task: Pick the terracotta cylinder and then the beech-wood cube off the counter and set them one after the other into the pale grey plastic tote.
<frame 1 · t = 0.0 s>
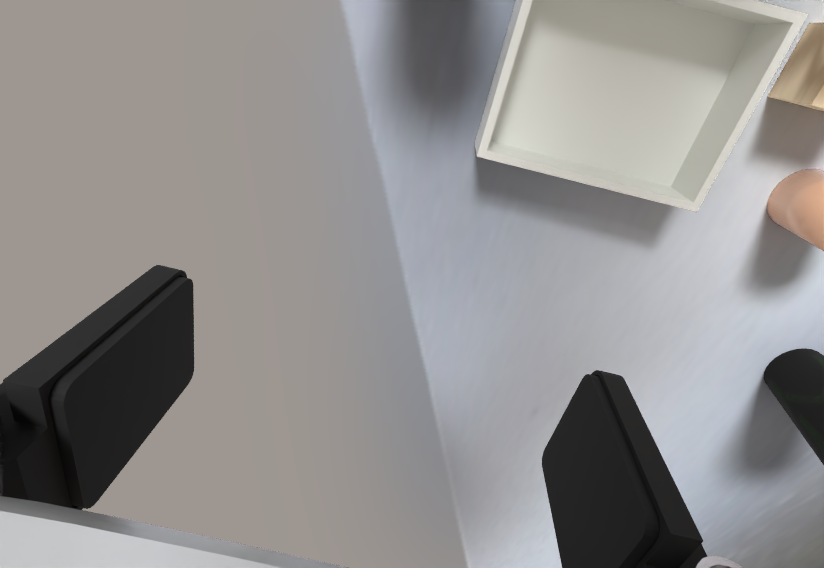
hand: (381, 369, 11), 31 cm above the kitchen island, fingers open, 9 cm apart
cup: (793, 369, 46), on the kitchen island
tote: (606, 85, 35), on the kitchen island
cylinder: (800, 198, 38), on the kitchen island
cube: (818, 69, 34), on the kitchen island
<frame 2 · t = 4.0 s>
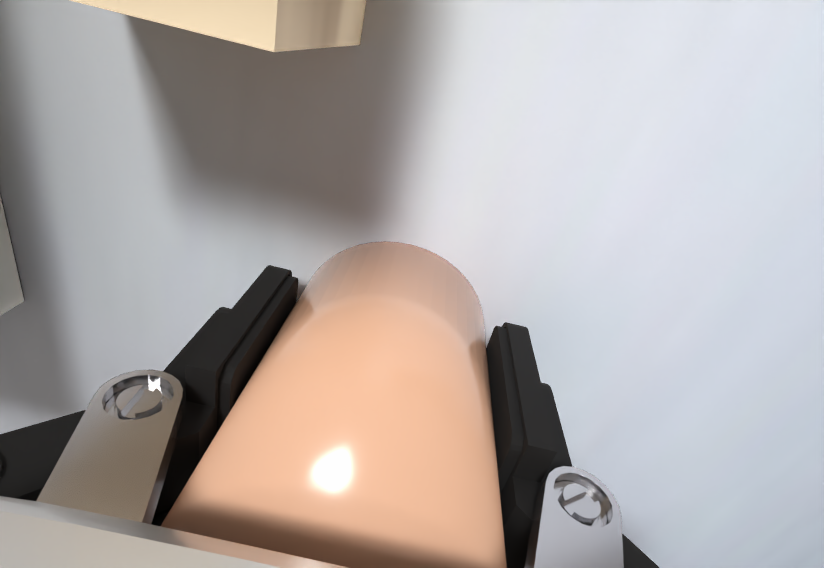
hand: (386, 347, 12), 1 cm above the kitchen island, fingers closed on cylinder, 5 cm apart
cylinder: (391, 326, 12), on the kitchen island, touching gripper
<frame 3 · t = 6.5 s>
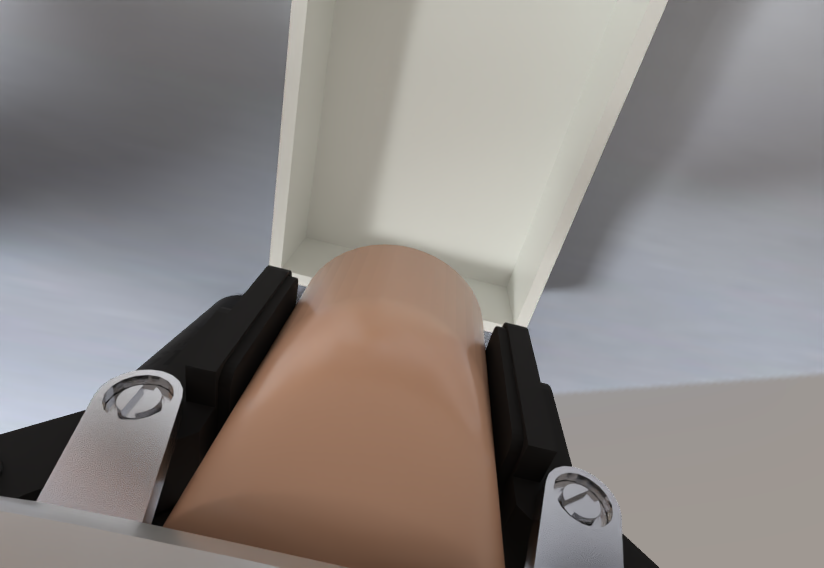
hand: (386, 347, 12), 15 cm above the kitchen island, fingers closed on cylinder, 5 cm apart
tote: (442, 119, 23), on the kitchen island
cylinder: (390, 328, 12), point 14 cm above the kitchen island, touching gripper
drinking cup: (246, 324, 31), on the kitchen island
when the fingers open (4 cm above the kitchen island, at t = 9.0 s): cylinder drops 2 cm, resting on tote.
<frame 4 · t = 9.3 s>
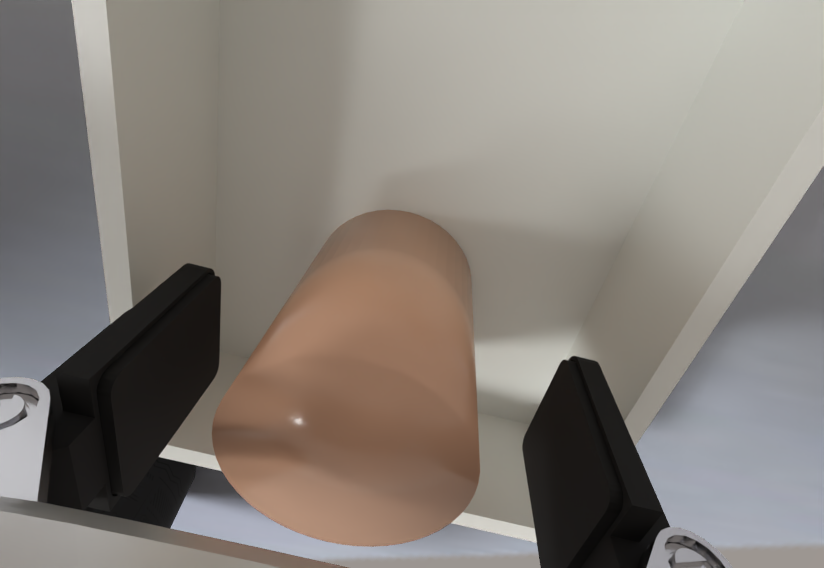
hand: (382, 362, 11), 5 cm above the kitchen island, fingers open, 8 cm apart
tote: (428, 171, 14), on the kitchen island
cylinder: (393, 284, 15), point 1 cm above the kitchen island, touching tote
drinking cup: (147, 454, 21), on the kitchen island
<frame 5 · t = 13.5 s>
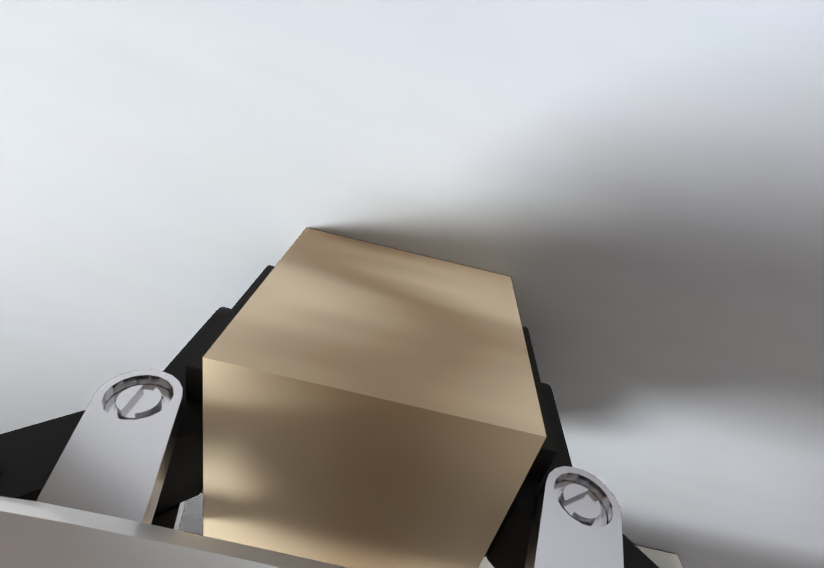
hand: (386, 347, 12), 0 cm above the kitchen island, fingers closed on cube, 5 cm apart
cube: (388, 335, 12), on the kitchen island, touching gripper
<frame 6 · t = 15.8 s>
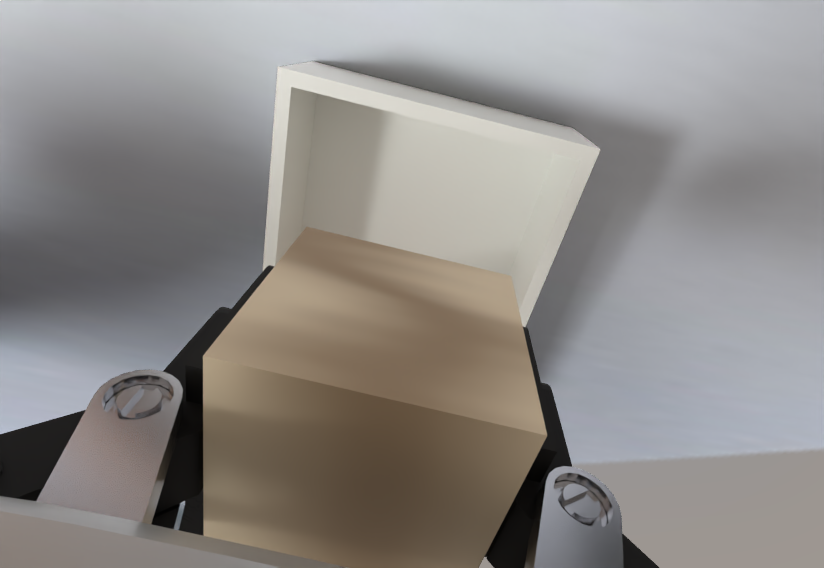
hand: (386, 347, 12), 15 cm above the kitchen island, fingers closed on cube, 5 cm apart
tote: (406, 249, 27), on the kitchen island
cube: (389, 335, 12), point 14 cm above the kitchen island, touching gripper
drinking cup: (237, 407, 34), on the kitchen island
when the fingers open (4 cm above the kitchen island, at t = 18.1 s): cube drops 3 cm, resting on tote.
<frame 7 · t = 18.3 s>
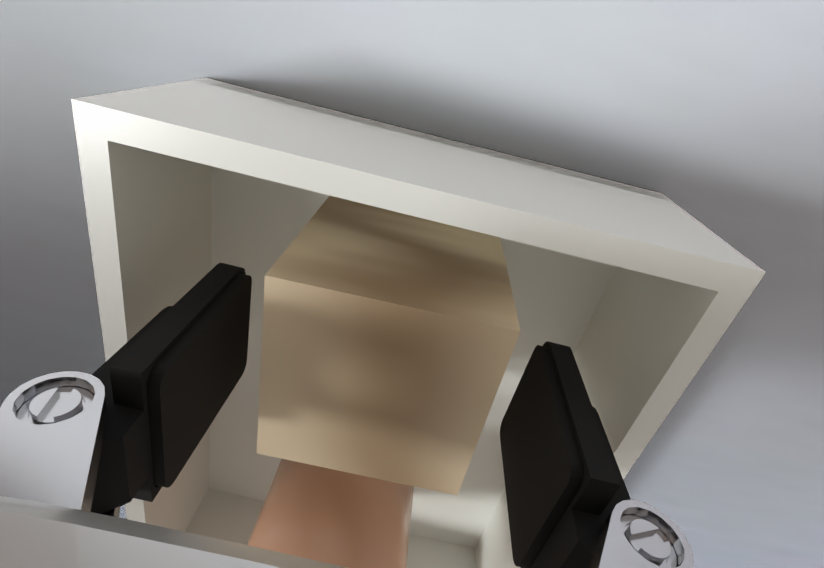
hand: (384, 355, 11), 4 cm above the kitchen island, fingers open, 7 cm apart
tote: (379, 369, 17), on the kitchen island
cylinder: (353, 452, 18), point 1 cm above the kitchen island, touching tote
cube: (398, 288, 14), point 1 cm above the kitchen island, touching tote
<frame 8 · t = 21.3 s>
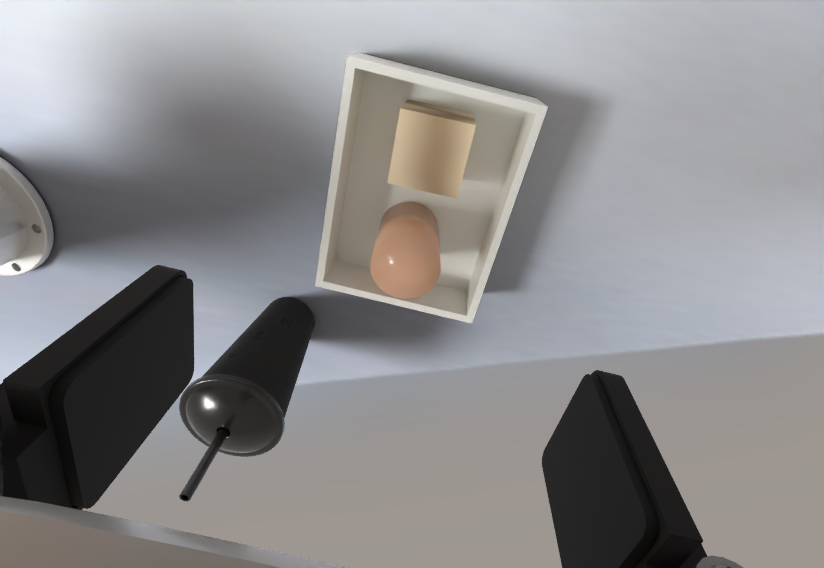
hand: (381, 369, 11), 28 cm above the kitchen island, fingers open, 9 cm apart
tote: (422, 187, 38), on the kitchen island
cylinder: (409, 230, 38), point 1 cm above the kitchen island, touching tote
cube: (433, 140, 35), point 1 cm above the kitchen island, touching tote
drinking cup: (291, 317, 45), on the kitchen island
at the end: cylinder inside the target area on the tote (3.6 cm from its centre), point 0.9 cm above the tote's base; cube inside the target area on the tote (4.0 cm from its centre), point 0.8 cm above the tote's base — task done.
